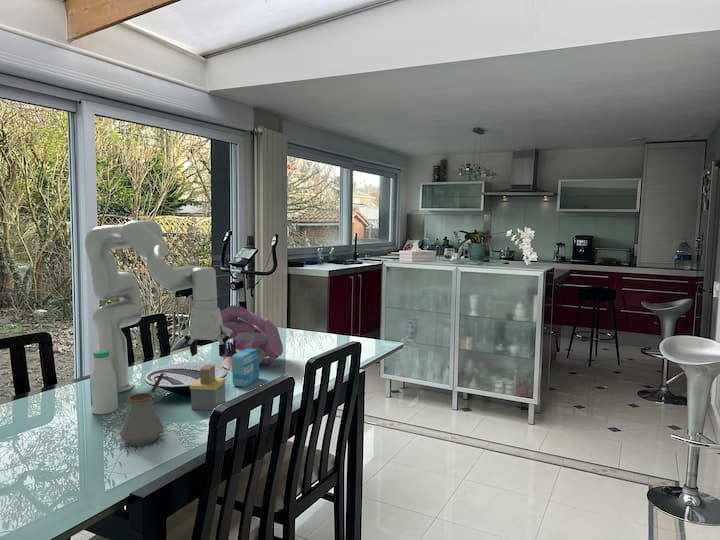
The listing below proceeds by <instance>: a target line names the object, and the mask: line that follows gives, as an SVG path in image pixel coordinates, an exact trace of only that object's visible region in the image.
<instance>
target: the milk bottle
mask: <svg viewBox="0 0 720 540" xmlns="http://www.w3.org/2000/svg"><path fill="white" fill-rule="evenodd" d="M109 355H110V354H109V351H108V350H99V351H98V350H96V351H94V352H93V360H94V364H93V368H92V369H91V372H90V374H89V375H90V376H89V387H90V403H91V406H90V407H91V412H92V414H94V415H106V414H111V413H114V412H116V411H117V410H118V407H119V404H118V393H117V384H116V374H115V371H114V369H113V367H112V365H111V364H110V361H109V357H110V356H109Z"/></svg>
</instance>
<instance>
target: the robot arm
mask: <svg viewBox="0 0 720 540" xmlns="http://www.w3.org/2000/svg"><path fill="white" fill-rule="evenodd" d="M163 235H164V233H163V229H162V227H161V225H160V224H159V223H158V222H156V221H155V220H152V219H151V220H149V219H148V220H146V219H145V220H141V219H140V220H130V221H128V222H126V223H124V224H119V225H117V224H116V225H115V224H114V225H101V226H96V227H94V228H92V229H90V230H89V231H88V232H87V234H86V236H85V240H84V247H85V251H86V254H87V258H88V260H89V266H90V273H91V278H92V279H91V280H92V288H93V293H94V296H95V297H96V298H97V299H98V300H100V301H111V300H117V299H118V300H119V301H117V302H112V303H106V304H102V305H101V306H99V307H97V308H96V309H95V310H94V312H93V315H92V320H93V325H94V328H95V334H96V339H97V340H96V341H97V351H99V350H108V351H109V354H110V355H109V356H110V357H109V361H110V364H111V365H112V367H113V369H114V371H115V374H116V384H117V394H119V393H122V392H126V391H128V390H131V389H133V387H134V382H133V381H132V380H130V377H129V361H128V360H129V359H128V345H127V344H128V343H127V337H126V336H125V334H124V332H123V331H122V329H123V328H126V327H129V326H132V325H135V324H138V323H139V322H140V321H141V319H142V316H143V308H142V306H143V305H142V299H141V298H142V297H141V293H140V285H139V281H138V279H137V277H136V276H135V275H134V273H131V272H129V271H120V272H119V271H118V265H117V260H116V258H115V256H114V255H113V253H111V252H110V250H121V249H129V248H130V249H133V250H134V251H136V252H137V253H138V254H139V255H140V256H141V257H142V258H143V259H144V260H145V261H146V266H147V271H148V273H149V275H150V277H151V278H152V279H153V281H155V282H156V283H157V284H159V285H160V286H161V287H162V288H164V289H165V290H168V291H170V292H176V291H182V290H187V289H188V290H189V289H191V288H192V300H191V301H189V305H190V306H192V309H190V315H189V316H190V317H189V326H188V327H186V328H184V329H182V330H181V335H182V336H183V338H184V340H185V341H186V342H187V343H188V345H189V350H190V351H189V353H190V355H191V357H194V356H196V355H197V354H198V344H197V340H201V341H202V340H204V341H205V340H207V341H209V340H211V341H213V340H217V342H218V343H219V344H218V354H219V355H218V356H219V357H222V356H223V355H224V354H225V352H226V345H225V343H226V342H229V340H231V339H230V336H231V334H232V332H233V331H232V330H231V329H229V328H227V327H225V326H223V323H222V317H221V312H220V311H221V309H220V307H218V293H217V292H218V291H217V289H218V288H217V275H216V274H217V273H216V269H215V268H214V267H212V266H196V265H185V266H184V265H183V266H177V267H171V265H169V264H168V263H167V262H165V261H164V257H165V256H166V254H167V252H168V245H167V243H166V242H165V241H164V240H162V238H163ZM223 331H224V332H226V333H227V335H226V337H225V338H224V336H223Z"/></svg>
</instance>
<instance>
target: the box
mask: <svg viewBox="0 0 720 540" xmlns="http://www.w3.org/2000/svg"><path fill="white" fill-rule="evenodd" d="M225 402H226V381H225V382H224V383H223V384H222V385H221V386H220V387H219V388H217V389H216V390H200V389H190V405H191V406H190V407H191V410H195V411H196V410H199V411H214V410H213V409H214V408H216V407H217V406H218V405H220V404H222V403H223V404H224V403H225ZM223 404H222V405H223Z"/></svg>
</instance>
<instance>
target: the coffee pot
mask: <svg viewBox="0 0 720 540" xmlns="http://www.w3.org/2000/svg"><path fill="white" fill-rule="evenodd" d="M164 376H166V377H164ZM167 377H168V375H167V374H166V373H164V372H161V373H160V374H159V376H158V378H157V380H156V381H155V382H154V384H153V385H152V388H151V390H150V392H149V393H148V392H141V393H135V394H132V395H129V396H128V398H127V400H128V402H130V403H129V404H130V407H129V410H128V412H127V415H126V417H125V419H124V422H123V425H122V427H121V429H120V433H119V436H120V438H121V439H122V440H123V441H124V442H126V444H128V443H129V444H128V445H130V446H135V447H136V446H137V447H139V446H146V445H149V444H151V443H154V442H155V441H156V440H157V439H158V438H159V437H160V436H161V434H162V433H163V431H164V425H163V423H162V421H161V419H160V418H159V416H158V414H157V412H156V409H154V406H153V404H152V403H151V402H152V399H153V396H154V395H153V394H154V392H155V391H156V389H157V388H158V387H159V385H160V383H161V381H162V380H163V379H166V378H167Z"/></svg>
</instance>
